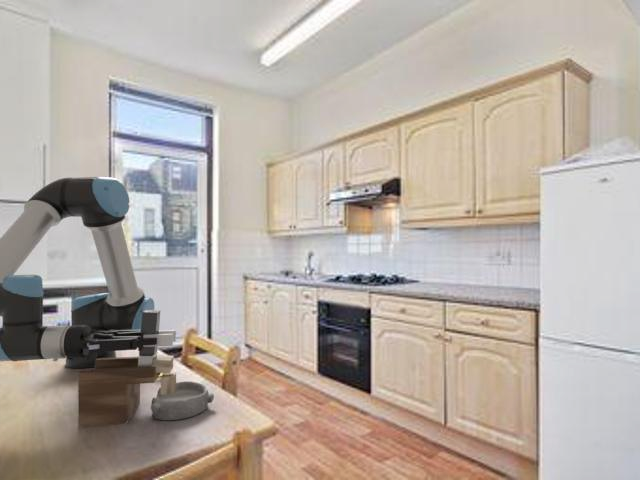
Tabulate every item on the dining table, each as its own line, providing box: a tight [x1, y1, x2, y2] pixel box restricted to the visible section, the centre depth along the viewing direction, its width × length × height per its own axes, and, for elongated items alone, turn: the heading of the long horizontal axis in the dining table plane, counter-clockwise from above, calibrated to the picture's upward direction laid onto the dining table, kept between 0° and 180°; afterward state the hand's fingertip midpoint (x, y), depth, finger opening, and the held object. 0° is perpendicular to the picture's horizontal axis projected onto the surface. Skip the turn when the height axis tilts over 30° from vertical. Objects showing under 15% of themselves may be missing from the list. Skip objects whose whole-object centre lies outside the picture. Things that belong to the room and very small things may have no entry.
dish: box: [150, 380, 215, 421], centre depth 102 cm, size 14×14×5 cm
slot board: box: [77, 354, 165, 428], centre depth 99 cm, size 12×16×12 cm
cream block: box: [160, 371, 177, 395], centre depth 101 cm, size 4×4×3 cm
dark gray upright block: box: [138, 309, 161, 368], centre depth 99 cm, size 6×3×14 cm, turn 9°
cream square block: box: [153, 355, 175, 374], centre depth 101 cm, size 4×4×3 cm
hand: (173, 337), depth 100 cm, fingers closed on dark gray upright block, 3 cm apart
